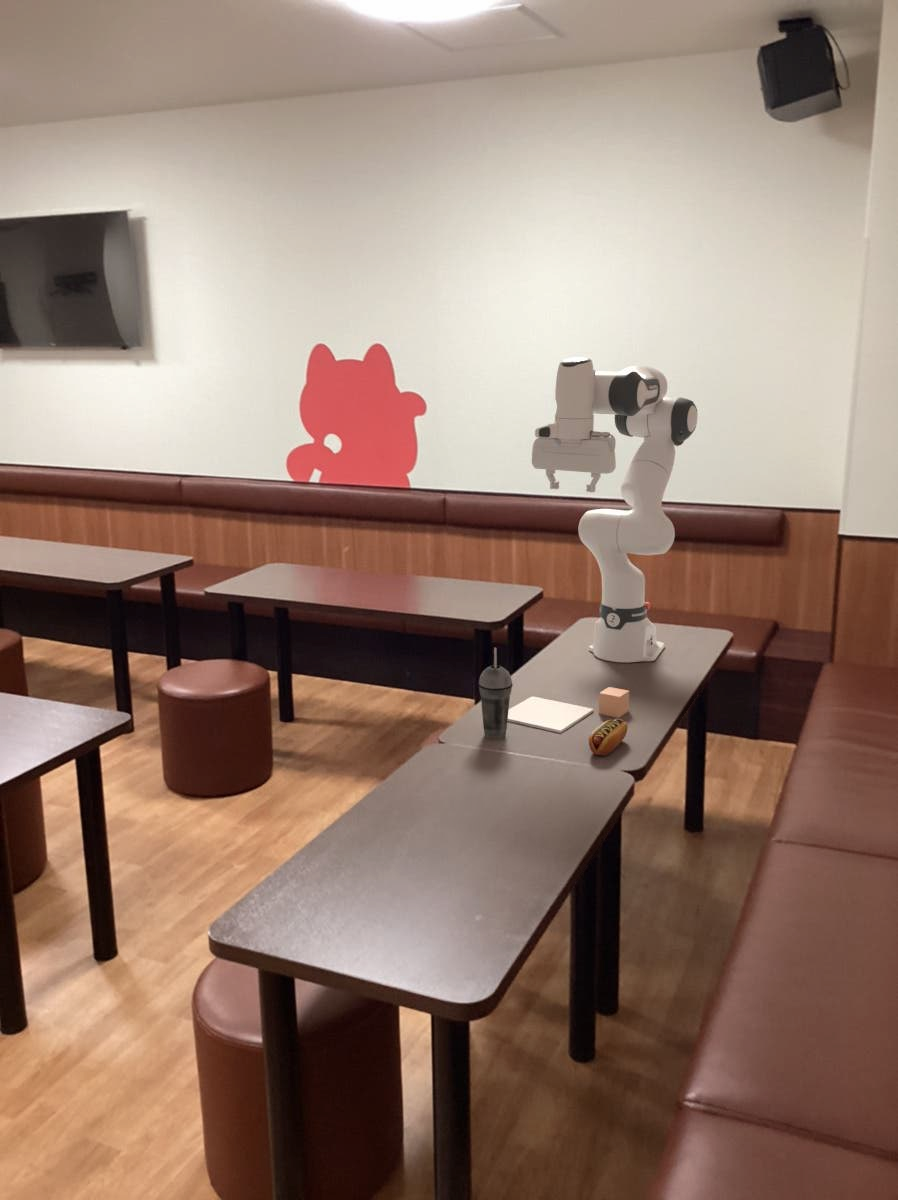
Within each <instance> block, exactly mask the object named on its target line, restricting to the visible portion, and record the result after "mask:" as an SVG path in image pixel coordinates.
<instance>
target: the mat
mask: <svg viewBox="0 0 898 1200" xmlns="http://www.w3.org/2000/svg"><path fill="white" fill-rule="evenodd" d="M593 712H595V710H594V708H592V707H586V706H581V705H576V704H572V703H566V702H562V701H557V700H554V699H553V700H551V699H547V698H543V697H537V696H534V695H533V696H530V697H528V698H527V699H526V698H525V700H523V701H521V702H520V703H518V704H516V705H514V706H512V707H510V708H509V710H508V720H507V722H511V723H515V724H519V725H523V726H527V727H532V728H537V729H540V730H545V731H548V732H549V731H550V732H554V733H557V734H558V733H559V734H562V733H563V732H565V731H566V730H568V729H569V728H571V727H573V726H574V725H575V724H577V723H578V722H580V721H581V720H583V719H584V718H586V717H587V716H589V715H591V714H592V713H593Z"/></svg>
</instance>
